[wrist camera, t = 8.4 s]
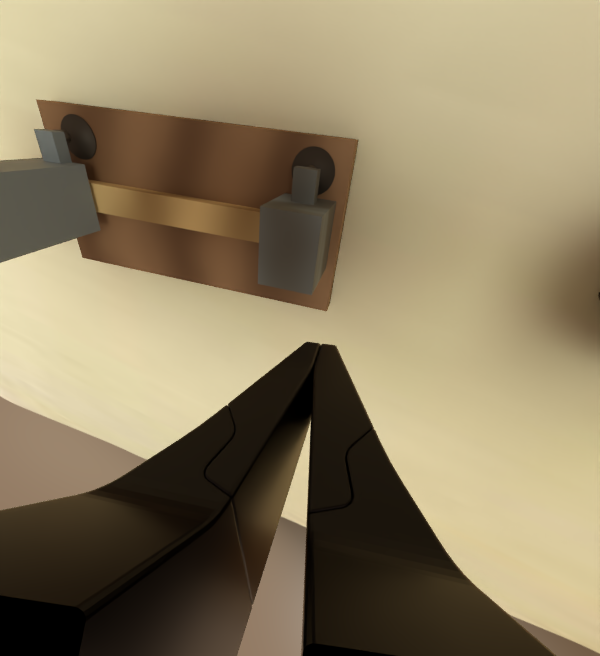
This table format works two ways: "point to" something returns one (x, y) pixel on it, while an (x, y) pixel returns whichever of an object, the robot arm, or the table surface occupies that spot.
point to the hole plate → (212, 199)
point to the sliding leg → (44, 199)
